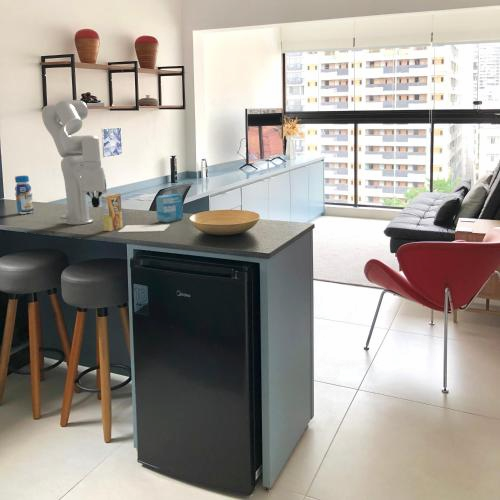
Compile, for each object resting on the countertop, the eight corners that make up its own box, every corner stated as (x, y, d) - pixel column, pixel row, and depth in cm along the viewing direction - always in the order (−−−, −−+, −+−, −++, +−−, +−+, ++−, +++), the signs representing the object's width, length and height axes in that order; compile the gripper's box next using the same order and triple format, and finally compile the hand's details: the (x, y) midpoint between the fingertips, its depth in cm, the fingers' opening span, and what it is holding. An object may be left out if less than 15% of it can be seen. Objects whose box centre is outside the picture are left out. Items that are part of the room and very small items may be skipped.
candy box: (115, 227, 267) (112, 193, 264) (123, 227, 266) (120, 193, 262) (103, 230, 260) (100, 196, 256) (111, 231, 258) (108, 196, 254)
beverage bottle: (22, 212, 323) (18, 175, 318) (37, 211, 322) (32, 175, 317) (14, 214, 315) (9, 177, 310) (29, 214, 313) (25, 176, 309)
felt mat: (117, 232, 255) (117, 231, 254) (126, 226, 269) (126, 225, 269) (163, 231, 253) (163, 230, 253) (170, 224, 268) (170, 224, 268)
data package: (163, 222, 274) (161, 197, 271) (157, 221, 277) (155, 196, 275) (183, 219, 282) (182, 194, 280) (177, 218, 285) (176, 193, 283)
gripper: (72, 166, 253) (76, 208, 257) (106, 165, 253) (110, 207, 257) (78, 165, 261) (82, 206, 265) (111, 163, 260) (115, 205, 264)
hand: (96, 206), depth 261 cm, fingers closed
